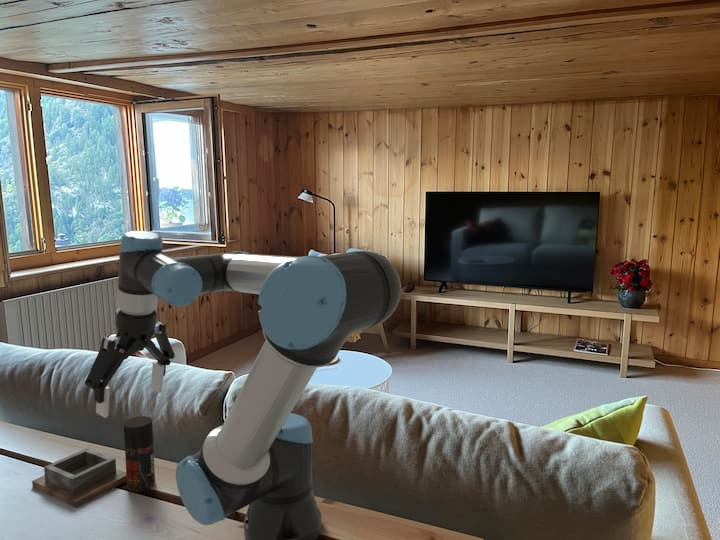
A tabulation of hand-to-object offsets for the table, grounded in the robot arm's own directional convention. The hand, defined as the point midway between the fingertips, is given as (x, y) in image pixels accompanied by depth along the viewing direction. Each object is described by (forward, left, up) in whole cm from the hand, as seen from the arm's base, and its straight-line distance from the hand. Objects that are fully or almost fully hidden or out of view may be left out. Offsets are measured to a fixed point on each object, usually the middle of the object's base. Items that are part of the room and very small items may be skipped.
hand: (130, 402), depth 115 cm
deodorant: (+4, -5, -22) cm, 23 cm away
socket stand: (+16, +2, -22) cm, 27 cm away
